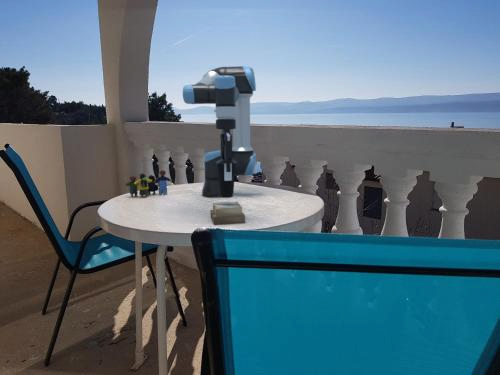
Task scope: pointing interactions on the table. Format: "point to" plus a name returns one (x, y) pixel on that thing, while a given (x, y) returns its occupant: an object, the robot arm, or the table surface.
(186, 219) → the table surface
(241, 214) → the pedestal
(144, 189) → the doll family
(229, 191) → the drinking cup
